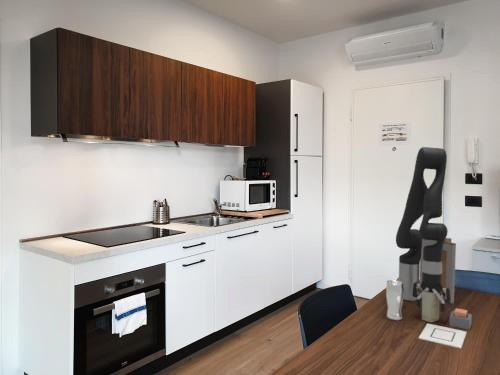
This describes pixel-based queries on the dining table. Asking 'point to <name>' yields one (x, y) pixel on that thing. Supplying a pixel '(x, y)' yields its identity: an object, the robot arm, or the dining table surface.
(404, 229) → the robot arm
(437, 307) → the skincare box
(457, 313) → the button
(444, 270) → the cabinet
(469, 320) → the button housing
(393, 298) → the beer glass
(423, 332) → the paper sheet
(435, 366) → the dining table surface
